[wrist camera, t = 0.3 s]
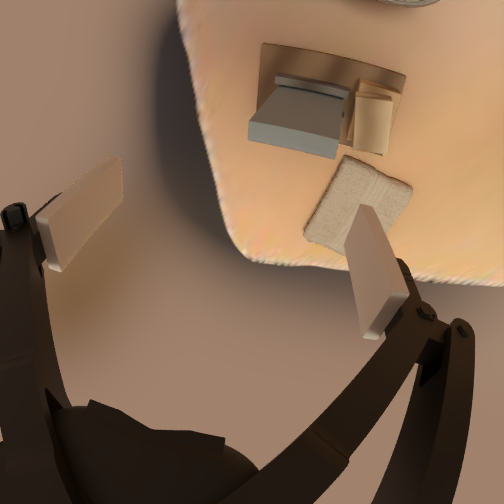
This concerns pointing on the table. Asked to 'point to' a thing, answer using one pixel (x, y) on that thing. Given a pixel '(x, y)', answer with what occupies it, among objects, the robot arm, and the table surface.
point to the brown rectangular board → (320, 76)
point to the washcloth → (355, 203)
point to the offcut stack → (373, 116)
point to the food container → (409, 3)
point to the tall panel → (299, 121)
